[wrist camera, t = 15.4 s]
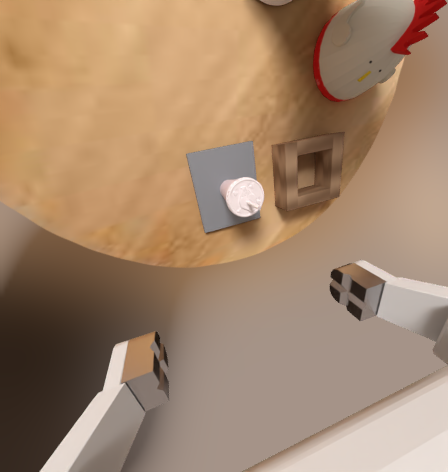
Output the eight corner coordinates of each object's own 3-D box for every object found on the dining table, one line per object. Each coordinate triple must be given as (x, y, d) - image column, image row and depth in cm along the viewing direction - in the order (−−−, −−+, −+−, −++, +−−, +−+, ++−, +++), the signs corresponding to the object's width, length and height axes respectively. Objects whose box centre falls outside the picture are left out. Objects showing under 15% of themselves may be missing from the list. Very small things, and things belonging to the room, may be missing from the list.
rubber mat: (186, 153, 36) (186, 153, 36) (250, 141, 39) (252, 140, 38) (204, 231, 43) (205, 232, 42) (258, 216, 46) (260, 217, 45)
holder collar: (271, 145, 40) (285, 144, 36) (325, 134, 43) (344, 131, 38) (275, 205, 46) (287, 211, 41) (323, 192, 48) (339, 196, 44)
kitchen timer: (300, 80, 37) (377, 39, 24) (336, -10, 34) (451, -118, 20) (349, 113, 42) (434, 95, 29) (385, 39, 39) (501, -21, 25)
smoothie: (220, 209, 41) (244, 233, 29) (208, 180, 38) (230, 192, 26) (247, 196, 42) (282, 214, 29) (237, 167, 39) (272, 173, 27)
